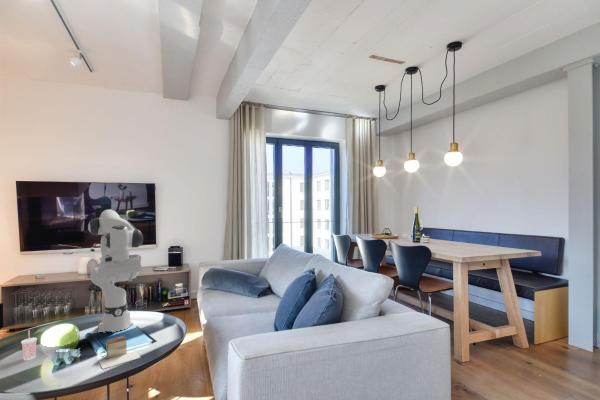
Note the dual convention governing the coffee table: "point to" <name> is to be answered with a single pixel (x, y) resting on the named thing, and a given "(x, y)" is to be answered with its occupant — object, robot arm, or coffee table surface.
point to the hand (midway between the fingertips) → (120, 282)
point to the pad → (119, 360)
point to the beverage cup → (29, 347)
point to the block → (116, 347)
